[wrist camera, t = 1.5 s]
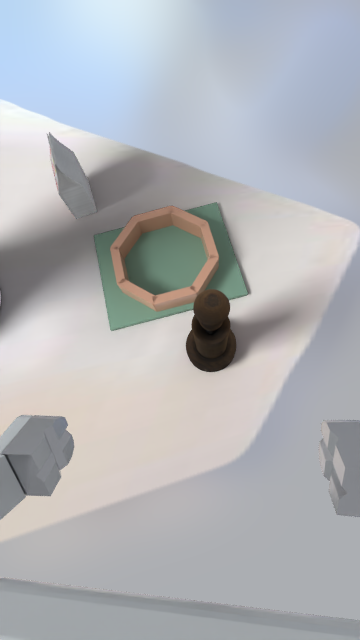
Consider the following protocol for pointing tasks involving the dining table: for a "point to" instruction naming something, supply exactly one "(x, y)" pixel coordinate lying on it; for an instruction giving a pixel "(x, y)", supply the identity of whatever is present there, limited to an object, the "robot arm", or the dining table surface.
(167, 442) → the dining table surface
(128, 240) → the pink octagonal ring
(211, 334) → the brown wooden chess piece
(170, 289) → the green mat
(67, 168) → the tea bag
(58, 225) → the dining table surface
